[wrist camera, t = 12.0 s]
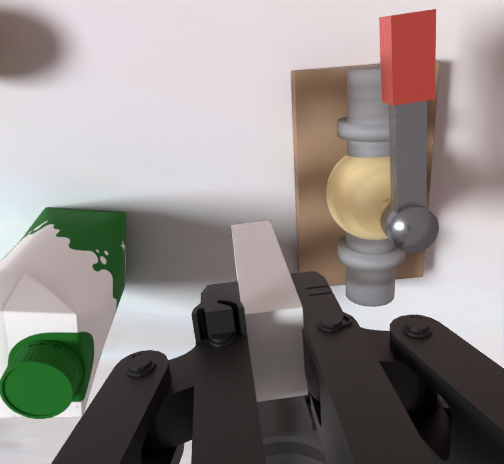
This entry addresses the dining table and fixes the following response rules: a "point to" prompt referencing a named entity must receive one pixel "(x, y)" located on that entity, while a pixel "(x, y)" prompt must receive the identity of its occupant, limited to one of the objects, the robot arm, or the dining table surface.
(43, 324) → the milk carton
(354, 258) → the valve rig
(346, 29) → the dining table surface
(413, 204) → the lever
